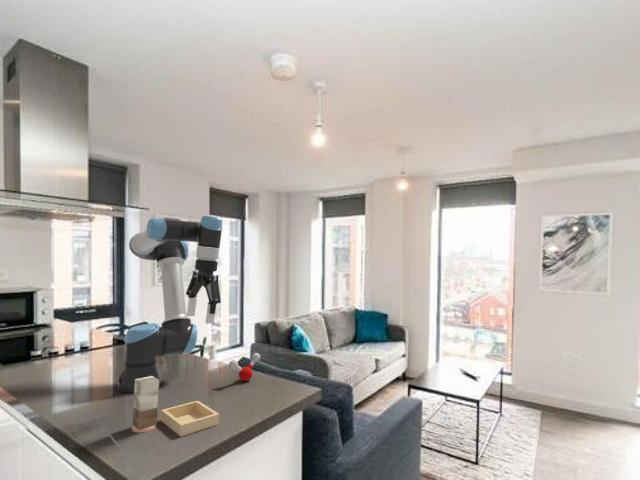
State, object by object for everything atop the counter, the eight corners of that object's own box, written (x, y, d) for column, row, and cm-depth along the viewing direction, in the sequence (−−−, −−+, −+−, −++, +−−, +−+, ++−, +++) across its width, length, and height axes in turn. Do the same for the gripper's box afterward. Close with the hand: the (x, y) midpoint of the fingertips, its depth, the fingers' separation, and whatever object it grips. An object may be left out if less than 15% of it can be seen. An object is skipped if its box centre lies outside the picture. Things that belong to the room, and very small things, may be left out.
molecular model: (251, 374, 164) (252, 351, 165) (262, 376, 162) (263, 352, 162) (226, 385, 148) (227, 360, 149) (238, 388, 146) (239, 362, 146)
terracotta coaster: (126, 433, 106) (127, 428, 106) (139, 423, 113) (139, 419, 113) (148, 434, 106) (148, 430, 106) (159, 424, 112) (160, 420, 112)
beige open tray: (160, 421, 114) (161, 409, 114) (197, 411, 123) (197, 400, 123) (180, 438, 104) (181, 425, 105) (218, 425, 113) (219, 413, 113)
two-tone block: (132, 424, 109) (135, 379, 110) (149, 419, 113) (152, 375, 114) (138, 429, 106) (141, 383, 107) (156, 424, 110) (159, 379, 110)
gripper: (235, 263, 126) (228, 325, 125) (199, 257, 143) (192, 312, 142) (216, 261, 120) (208, 327, 119) (181, 256, 138) (173, 313, 137)
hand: (199, 319), depth 131 cm, fingers open, 13 cm apart
